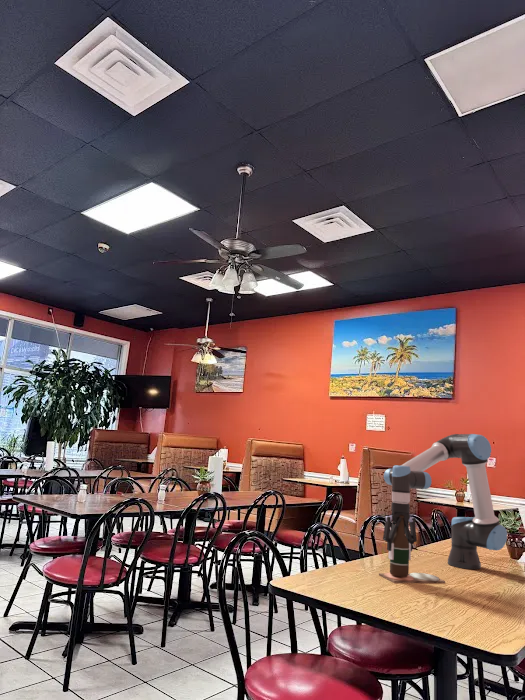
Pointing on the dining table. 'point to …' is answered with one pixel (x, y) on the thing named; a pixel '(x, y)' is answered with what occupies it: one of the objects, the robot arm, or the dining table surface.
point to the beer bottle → (400, 552)
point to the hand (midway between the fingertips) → (399, 559)
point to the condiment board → (412, 578)
